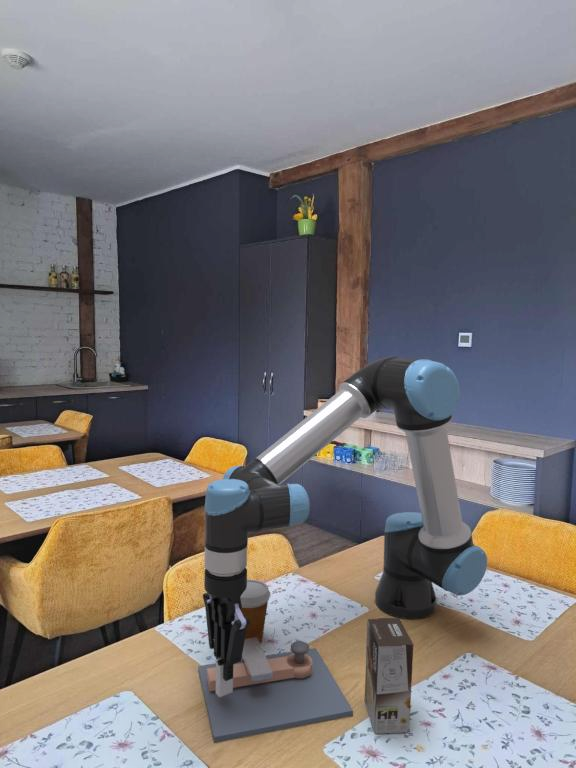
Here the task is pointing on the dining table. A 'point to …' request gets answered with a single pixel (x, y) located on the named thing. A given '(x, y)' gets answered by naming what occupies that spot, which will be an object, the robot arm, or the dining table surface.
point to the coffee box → (388, 675)
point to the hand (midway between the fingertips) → (224, 692)
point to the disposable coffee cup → (255, 607)
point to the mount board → (275, 702)
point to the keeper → (255, 660)
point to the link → (272, 668)
